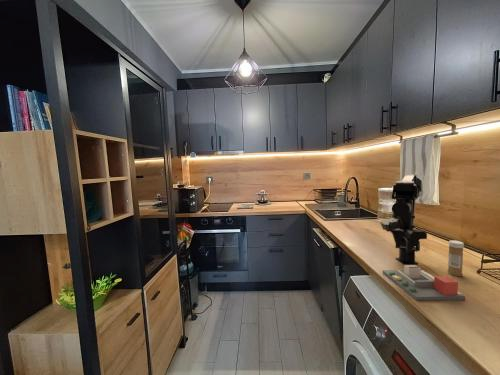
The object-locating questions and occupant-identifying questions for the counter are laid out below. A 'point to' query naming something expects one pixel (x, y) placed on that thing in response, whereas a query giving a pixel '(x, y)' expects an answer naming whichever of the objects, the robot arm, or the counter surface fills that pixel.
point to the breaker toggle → (412, 271)
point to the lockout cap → (446, 285)
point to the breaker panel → (419, 286)
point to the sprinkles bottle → (455, 258)
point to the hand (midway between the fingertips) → (402, 249)
